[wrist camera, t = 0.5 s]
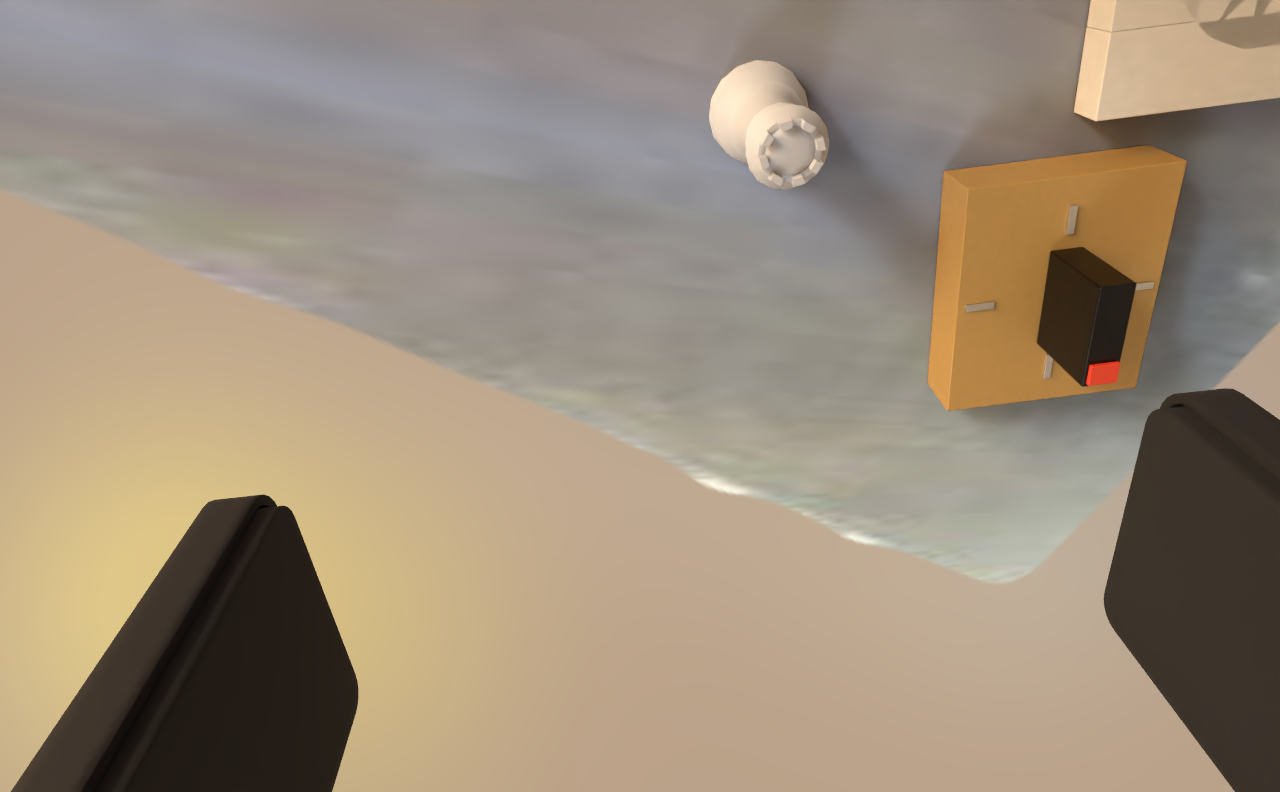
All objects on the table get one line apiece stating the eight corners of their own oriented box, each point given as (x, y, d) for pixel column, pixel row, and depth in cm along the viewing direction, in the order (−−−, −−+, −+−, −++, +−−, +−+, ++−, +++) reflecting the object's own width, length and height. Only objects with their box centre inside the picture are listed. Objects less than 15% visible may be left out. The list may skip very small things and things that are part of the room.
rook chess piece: (823, 101, 38) (875, 143, 31) (758, 177, 40) (794, 234, 33) (752, 36, 36) (791, 65, 29) (687, 118, 38) (709, 165, 31)
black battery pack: (1049, 250, 39) (1103, 289, 35) (1083, 245, 39) (1141, 285, 35) (1035, 343, 42) (1084, 390, 38) (1067, 339, 42) (1119, 386, 38)
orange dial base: (943, 171, 40) (969, 189, 37) (1148, 144, 40) (1190, 161, 37) (927, 383, 46) (948, 413, 43) (1105, 360, 46) (1137, 389, 43)
